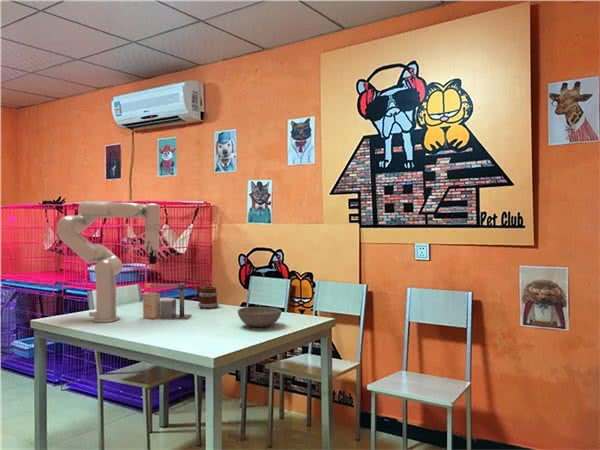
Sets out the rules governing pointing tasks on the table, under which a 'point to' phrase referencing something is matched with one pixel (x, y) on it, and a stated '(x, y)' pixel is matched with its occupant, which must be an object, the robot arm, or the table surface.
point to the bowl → (259, 316)
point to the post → (181, 307)
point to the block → (167, 308)
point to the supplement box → (151, 305)
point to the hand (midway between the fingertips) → (152, 263)
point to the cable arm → (166, 285)
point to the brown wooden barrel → (207, 297)
